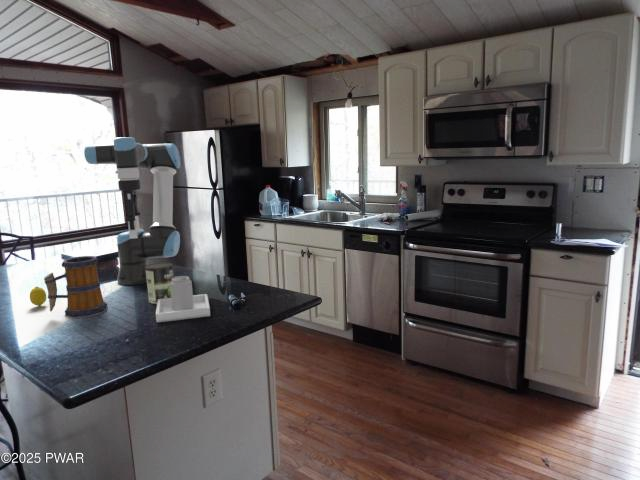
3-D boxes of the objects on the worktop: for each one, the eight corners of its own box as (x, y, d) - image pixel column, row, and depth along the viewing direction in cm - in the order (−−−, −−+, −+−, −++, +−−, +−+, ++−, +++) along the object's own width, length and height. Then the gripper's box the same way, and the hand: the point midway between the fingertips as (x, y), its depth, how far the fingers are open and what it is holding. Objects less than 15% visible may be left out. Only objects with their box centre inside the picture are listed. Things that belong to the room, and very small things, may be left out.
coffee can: (180, 296, 194) (177, 262, 191) (167, 304, 184) (164, 268, 181) (157, 295, 196) (153, 262, 193) (143, 303, 186) (139, 268, 183)
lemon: (45, 303, 191) (42, 283, 189) (49, 306, 187) (46, 286, 185) (29, 306, 187) (26, 287, 186) (33, 309, 183) (30, 289, 182)
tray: (158, 306, 181) (157, 299, 180) (207, 301, 186) (206, 293, 185) (156, 322, 164) (155, 314, 163) (210, 316, 169) (209, 307, 168)
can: (190, 312, 171) (187, 280, 169) (169, 313, 171) (166, 280, 169) (196, 305, 178) (193, 274, 176) (176, 306, 179) (173, 275, 176)
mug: (51, 324, 166) (42, 268, 163) (48, 313, 178) (40, 260, 175) (110, 312, 176) (104, 259, 173) (104, 303, 188) (98, 253, 185)
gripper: (121, 178, 190) (127, 230, 194) (114, 182, 167) (121, 241, 171) (141, 177, 192) (147, 229, 196) (137, 180, 169) (143, 240, 173)
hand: (135, 235), depth 184 cm, fingers open, 13 cm apart
